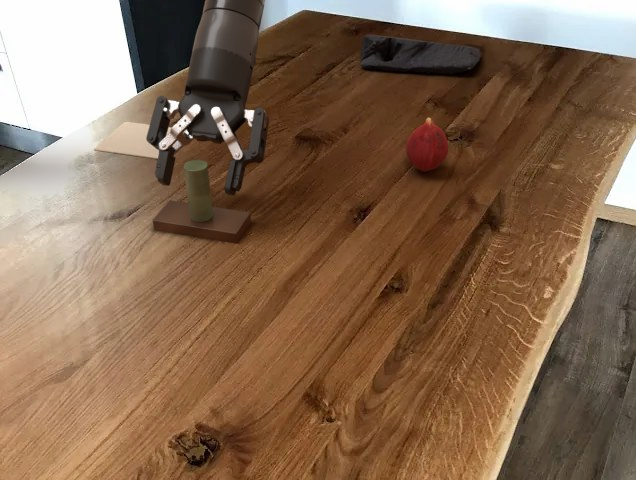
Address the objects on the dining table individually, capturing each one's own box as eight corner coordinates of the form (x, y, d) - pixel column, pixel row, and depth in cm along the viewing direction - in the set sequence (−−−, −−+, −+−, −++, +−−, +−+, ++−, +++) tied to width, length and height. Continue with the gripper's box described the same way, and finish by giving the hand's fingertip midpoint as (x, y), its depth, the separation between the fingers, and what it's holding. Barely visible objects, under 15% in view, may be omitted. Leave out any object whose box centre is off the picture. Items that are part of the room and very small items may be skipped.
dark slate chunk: (472, 83, 129) (475, 57, 126) (352, 69, 134) (353, 43, 131) (484, 54, 140) (488, 28, 137) (373, 42, 146) (374, 17, 143)
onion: (453, 174, 104) (460, 121, 99) (422, 185, 102) (428, 132, 96) (426, 158, 108) (432, 106, 103) (396, 168, 105) (400, 116, 100)
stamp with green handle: (155, 239, 91) (143, 168, 85) (172, 218, 95) (161, 149, 89) (237, 252, 89) (231, 181, 83) (251, 231, 93) (246, 161, 86)
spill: (94, 150, 110) (93, 149, 110) (125, 122, 117) (125, 121, 117) (167, 160, 107) (167, 159, 107) (194, 131, 115) (194, 130, 115)
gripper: (156, 39, 86) (128, 171, 85) (271, 50, 83) (243, 188, 82) (180, 67, 93) (154, 189, 92) (286, 78, 90) (261, 205, 89)
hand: (196, 188), depth 87 cm, fingers open, 8 cm apart
